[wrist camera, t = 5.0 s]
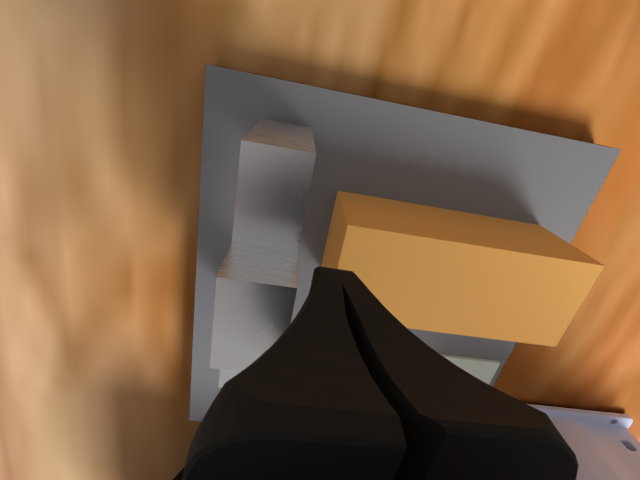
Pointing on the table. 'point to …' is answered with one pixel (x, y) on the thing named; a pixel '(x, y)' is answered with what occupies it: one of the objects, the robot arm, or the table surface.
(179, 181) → the table surface
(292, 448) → the robot arm
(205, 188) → the board
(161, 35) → the table surface
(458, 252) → the block
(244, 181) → the clasp
